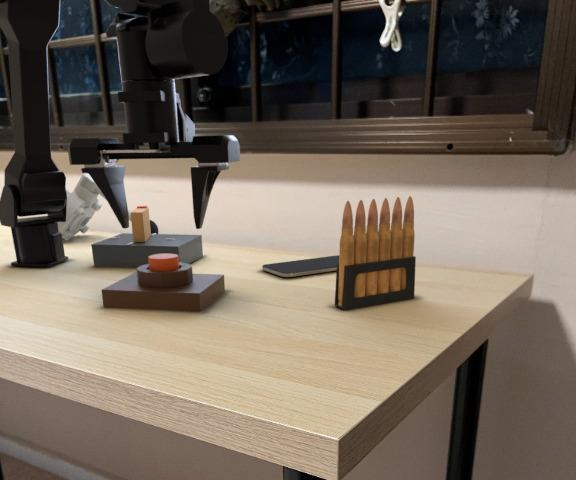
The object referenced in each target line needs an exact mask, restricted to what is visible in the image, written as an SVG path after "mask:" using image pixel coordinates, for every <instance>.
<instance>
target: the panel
mask: <svg viewBox="0 0 576 480" xmlns="http://www.w3.org/2000/svg"><path fill="white" fill-rule="evenodd" d="M203 251H204V250H203V236H202V234H177V233H176V234H174V233H173V234H170V233H158V234H156V233H154V234H151V236H150V237H149V238H148V239H147V241H146V242H134V241H133V233H128V232H127V233H124V232H123V233H119V234H117V235H114V236H111V237H107V238H106V239H103V240H100V241H97V242H93V243H91V252H92V253H91V254H92V260H93V261H92V262H93V267H94V268H115V269H119V268H120V269H136V268H138V267H140V266H142V265H145V264H149V261H148V257H149V256H150V255H154V254H164V253H169V254H177V255H178V257H179V262H181V263H187V264H190V265H192V264H193V263H194V262H196V261H197V260H199V259H200V258H202V257H204V253H203Z"/></svg>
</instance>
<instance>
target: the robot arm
mask: <svg viewBox="0 0 576 480" xmlns="http://www.w3.org/2000/svg"><path fill="white" fill-rule="evenodd" d="M103 1H104V2H105V3H107V4H108V5H109V6H111V7H112V8H117V9H121V11H122V12H123V13H122V12H116V14H115V17H114V19H113V21H112V22H111V23H110V24H109V26H108V27H107V29H106V33H105V36H106V37H107V38H108V39H113V40H116V44H117V45H116V46H117V52H118V63H119V71H120V80H121V81H120V82H121V91H117V99H118V103H122V104H123V107H124V108H123V109H124V117H125V118H124V119H125V127H126V132H125V133H124V132H123V133H122V142H120V141H119V139H118V138H117V137H92V138H91V137H90V138H87V137H85V138H82V137H81V138H71V140H70V143H69V145H68V148H67V155H68V160H69V165H70V166H83V167H82V168H80V170H81V173H82V174H83V173H88V174H89V175H90V176H91V178H92V179H93V181H94V182H95V183H96V185H97V186H98V188H99V189H100V190H101V192H102V193H103V195H104V196H105V198H106V199H105V198H104V199H105V200H106V202H107V203H108V205H109V207H110V209H111V210H112V212H113V214H114V216H115V218H116V219H117V222H118V223H119V224H120V226H121V228H122V229H128V228H130V220H129V213H128V209H129V208H128V201H127V194H126V190H125V182H124V181H125V180H124V178H125V172H126V165H118V164H117V163H119V161H120V160H155V159H157V160H159V159H160V160H163V159H164V160H165V159H195V160H196V162H197V165H195V166H191V167H190V180H191V193H192V194H191V195H192V196H191V197H192V212H193V221H194V225H195V229H196V230H200V229H202V228H203V225H204V220H205V218H206V217H205V216H206V214H207V210H208V209H207V208H208V205H209V201H210V198H211V194H212V191H213V189H214V187H215V183H216V181H217V179H218V177H219V175H220V173H222V171H227V170H229V169H230V163H235V162H241V145H240V142H239V140H238V139H237V137H236V136H235V135H232V134H231V135H224V134H223V135H196V134H195V133H196V124H195V123H194V122H193V121H192V120H191V118H190V117H189V116H188V114H186V113H185V112H184V111H183V109H182V103H181V98H180V93H177V92H176V83H175V80H179V79H189V78H195V77H203V76H210V75H215V74H216V73H218V72H220V71H221V70H222V68H223V67H224V65H225V63H226V61H227V57H228V53H229V40H228V37H227V36H226V33H225V30H224V28H223V25H222V23H221V21H220V20H219V18H218V17H217V16H216V15H215V14H214V13H213V12H212V11H211V4H210V3H211V2H210V0H103ZM64 2H65V0H0V29H1V31H2V32H3V34H4V36H5V38H6V40H7V51H8V52H7V53H8V65H9V79H10V80H9V81H10V96H11V108H12V109H11V111H12V125H13V139H14V140H13V141H14V153H13V155H12V157H11V158H10V160H9V162H8V164H7V165H6V166H5V168H4V180H3V181H4V182H3V183H4V185H3V187H2V190H1V194H0V225H1V226H4V227H8V228H10V231H11V236H12V237H11V238H12V242H13V247H14V253H15V259H16V260H15V261H12V262H10V266H11V267H35V268H37V267H39V268H44V267H45V268H49V267H52V266H54V265H58V264H59V263H63V262H65V261H67V260H69V256H67V255H66V253H65V248H64V247H65V246H64V241H63V240H64V239H62V234H61V232H59V230H58V223H57V222H66V210H67V193H66V190H67V188H66V185H67V184H66V183H67V176H66V174H65V173H64V171H62V170H60V169H59V167H58V165H57V164H56V162H55V161H54V159H53V157H52V142H51V141H52V140H51V116H50V115H51V113H50V91H49V90H50V89H49V64H48V63H49V61H48V60H49V59H48V58H49V57H48V46H49V44H50V42H51V40H52V39H53V37H54V35H55V34H56V31H57V30H58V28H59V26H60V17H61V16H60V14H61V7H62V5H63V3H64ZM135 15H137V17H136V16H135ZM145 144H148V147H149V148H148V149H140V146H142V147H143V146H145ZM228 163H229V164H228ZM19 217H20V218H19Z"/></svg>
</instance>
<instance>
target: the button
mask: <svg viewBox="0 0 576 480" xmlns="http://www.w3.org/2000/svg"><path fill="white" fill-rule="evenodd" d="M148 261H149V270H152V271H168V270H175V269H179V257H178V255H177V254H169V253H164V254H154V255H150V256H149V257H148Z"/></svg>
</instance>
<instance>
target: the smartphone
mask: <svg viewBox="0 0 576 480" xmlns="http://www.w3.org/2000/svg"><path fill="white" fill-rule="evenodd" d="M337 263H339V255H338V254H336V255H328V256H321V257H313V258H306V259H305V258H304V259H297V260H289V261H283V262H274V263H266V264H263V265H262V266H261V269H262V271H264V272H268V273H270V274H273V275H276V276H279V277H283V278H294V277H300V276H307V275H314V274H321V273H329V272H337Z"/></svg>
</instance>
